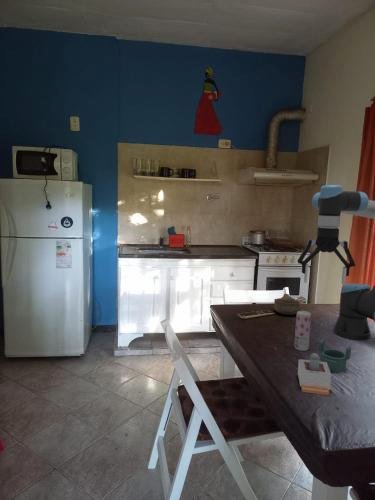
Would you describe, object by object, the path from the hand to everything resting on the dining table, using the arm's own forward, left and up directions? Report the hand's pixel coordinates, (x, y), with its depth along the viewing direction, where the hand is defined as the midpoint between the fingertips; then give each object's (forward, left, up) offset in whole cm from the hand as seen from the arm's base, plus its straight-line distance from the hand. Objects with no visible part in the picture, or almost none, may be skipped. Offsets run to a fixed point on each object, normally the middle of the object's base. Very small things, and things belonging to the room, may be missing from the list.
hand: (324, 283), depth 134 cm
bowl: (+10, -52, -29) cm, 60 cm away
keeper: (+5, +24, -29) cm, 38 cm away
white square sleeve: (+5, +24, -28) cm, 37 cm away
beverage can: (+6, -5, -29) cm, 30 cm away
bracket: (-4, +10, -29) cm, 31 cm away
